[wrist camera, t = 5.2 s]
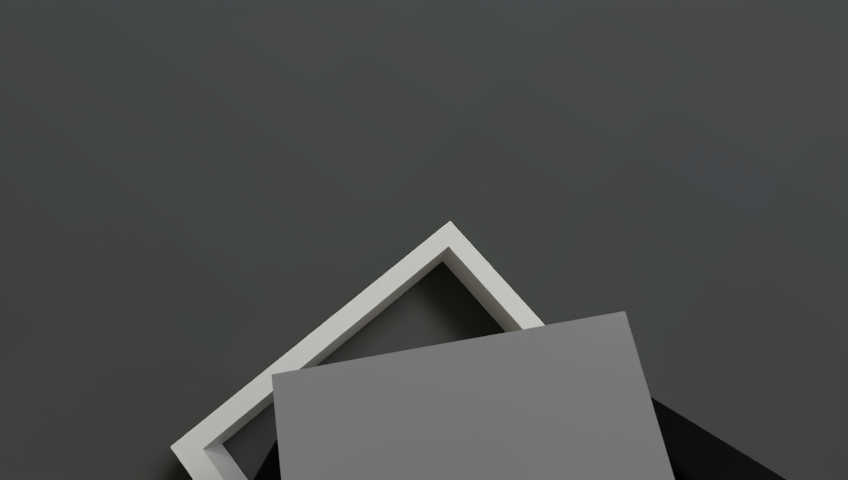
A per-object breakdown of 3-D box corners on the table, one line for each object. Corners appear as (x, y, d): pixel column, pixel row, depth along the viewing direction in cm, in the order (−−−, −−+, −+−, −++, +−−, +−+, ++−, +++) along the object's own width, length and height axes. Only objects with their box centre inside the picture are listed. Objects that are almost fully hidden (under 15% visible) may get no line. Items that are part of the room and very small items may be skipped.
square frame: (657, 475, 16) (688, 483, 15) (411, 749, 14) (415, 798, 12) (444, 238, 18) (450, 220, 17) (193, 441, 16) (170, 446, 14)
